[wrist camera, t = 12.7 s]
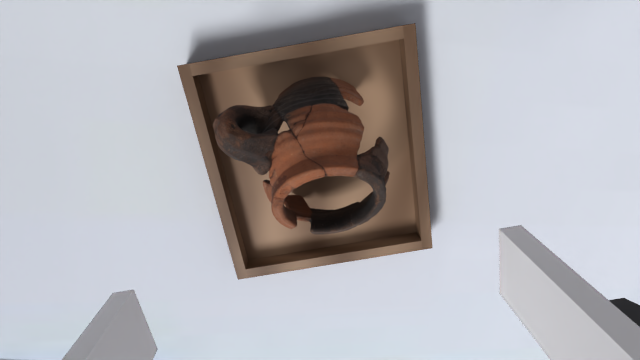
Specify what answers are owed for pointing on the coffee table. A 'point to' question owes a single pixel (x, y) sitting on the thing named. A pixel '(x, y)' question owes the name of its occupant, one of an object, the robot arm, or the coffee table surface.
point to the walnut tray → (330, 191)
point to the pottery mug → (307, 150)
